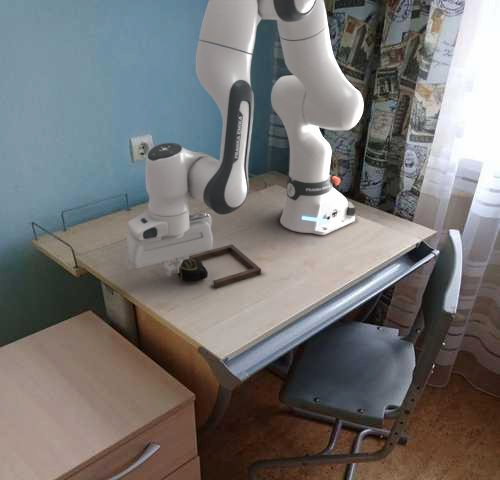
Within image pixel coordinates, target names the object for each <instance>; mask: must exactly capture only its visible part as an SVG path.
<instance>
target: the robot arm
mask: <svg viewBox="0 0 500 480" xmlns="http://www.w3.org/2000/svg"><path fill="white" fill-rule="evenodd" d="M327 16H328V15H327V10H326V5H325V1H324V0H208V2H207V5H206V8H205V11H204V15H203V19H202V22H201V26H200V30H199V37H198V41H197V45H196V53H195V75H196V77H197V79H198V82H199V83H200V85H201V86H202V88H203V89H204V90H205V91H206V93H207V94H208V95H209V96H210V97H211V98H212V99H213V101H214V102H215V104H216V106H217V107H218V110H219V112H220V115H221V120H222V129H221V140H220V150H219V159H217V158H215V157H213V156H212V155H209V154H207V153H204V152H201V151H193V150H189V149H187V148H185V147H183V146H182V145H180V144H179V143H176V142H163V143H159V144H157V145H155V146H153V147H151V149H149V151H148V152H147V155H146V158H145V165H144V168H145V169H144V171H145V172H144V175H145V176H144V177H145V190H146V193H147V196H148V204H147V210H146V211H144V212H143V213H141V214H139V215H138V216H136V217H134V218H132V219H130V220H129V221H128V222H127V227H128V230H129V234H128V235H127V237H126V259H127V262H128V263H129V265H130V266H131V267H132V268H133V269H136V270H138V269H142V268H145V267H149V266H154V265H158V264H161V263H162V265H163V266H164V267H165V273H166V275H167V276H168V277H171V276H174V275H177V274H178V273H179V267H180V266H181V264H182V262H183V260H184V258H185V257H189V256H191V255H194V254H198V253H202V252H205V251H209V250H212V248H213V246H214V239H213V233H212V229H211V227H212V216H211V215H210V214H209V213H206V212H199V213H196V214H190V205H189V204H190V202H191V200H197V201H199V202H200V203H203V204H204V205H206V206H207V208H209V209H210V210H212V211H213V212H214V213H216V214H218V215H223V216H224V215H228V214H231V213H233V212H236V211H237V210H239V209H240V208H241V207H242V206H243V205H244V204H245V202H246V200H247V197H248V195H249V191H250V190H249V189H250V184H249V183H250V179H249V160H250V150H251V141H252V132H253V125H254V124H253V122H254V113H255V112H254V111H255V95H254V91H253V89H252V84H251V67H252V66H251V65H252V59H253V54H254V49H255V44H256V36H257V28H258V25H259V23H260V22H261V21H262V20H271V21H276V24H277V25H276V26H277V30H278V36H279V41H280V46H281V50H282V55H283V60H284V64H285V66H286V68H287V69H288V71H289V72H290V75H282V76H281V77H279V78H278V79H277V80H276V81H275V83H274V85H273V86H272V89H271V93H270V104H271V107H272V110H273V111H274V112H275V113H276V115H277V116H278V117H279V119H280V120H281V122H282V124H283V127H284V129H285V132H286V136H287V140H288V145H289V166H288V167H289V168H288V169H289V170H288V173H287V176H286V184H285V185H286V197H285V203H284V206H283V210H282V213H281V216H280V218H279V222H280V224H281V225H282V226H283V227H284V228H286V229H288V230H290V231H292V232H297V233H303V234H314V235H318V236H325V235H328V234H330V233H332V232H334V231H336V230H338V229H341V228H343V227H345V226H347V225H350V224H351V223H354V222H356V216H355V214H356V211H357V209H356V207H355V206H354V204H353V203H352V202H351V201H350V200H347V198H346V197H345V196H344V195H343V194H342V193H341V192H340V191H338V190H337V189H336V188H334V186H333V184H334V185H335V186H339V184H340V183H341V178H340V177H338V176H336V175H333V176H332V174H330V169H331V160H332V147H331V145H330V142H328V141H327V139H325V138H324V137H323V134H322V133H321V131H320V128H321V129H325V130H329V131H350V130H352V129H353V128H354V127H355V126H356V125H357V124H358V123H359V121H360V120H361V117H362V115H363V112H364V98H363V96H362V94H361V92H360V91H359V90H358V89H357V88H355V87H354V86H353V85H352V84H351V83H350V82H349V80H348V79H347V78H346V76H345V75H344V73H343V72H342V70H341V68H340V66H339V64H338V63H337V60H336V57H335V55H334V52H333V48H332V42H331V37H330V29H329V23H328V17H327ZM172 260H174V262H173V264H171V265H170V263H171V261H172Z"/></svg>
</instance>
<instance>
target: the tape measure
mask: <svg viewBox="0 0 500 480" xmlns="http://www.w3.org/2000/svg"><path fill="white" fill-rule="evenodd" d="M208 273H209V272H208V270H207V268H206V267H205V266H204V264H203V262H202V260H200V259H199V258H194V259H189V258H183V262H182V264H181V266H180V267H179V273H178V274H176V276H178V278H179V280H181V281H183V282H186V283H196V282H199V281H201V280H205V279H207V278H208V275H209V274H208Z"/></svg>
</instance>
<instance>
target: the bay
mask: <svg viewBox="0 0 500 480" xmlns="http://www.w3.org/2000/svg"><path fill="white" fill-rule="evenodd" d="M229 253H230V254H232V255H233V256H234V257H235V258H236V259H237V260H238V261H239V262H241V263H242V264H243V265H244V266H245V267H246V268H248V269H247V270H243V271H239V272H238V273H234V274H230V275H227V276H224V277H219V278H216V279H214V280H213V281H212V282H213V285H212V286H213V287H214V288H215V289H218V288H221V287H224V286H228V285H231V284H234V283H237V282H242V281H244V280H247V279H248V280H249V279H251V278H254V277H257V276H262V268H261V267H259V266H258V264H256V263H255V262H254V261H252V260H251V259H250V258H249V257H248V256H247V255H246V254H244V253H243V252H242V251H241V250H240V249H238V248H237V247H236V246H235V245H234V244H231V243H230V244H228V245H224V246H220V247H217V248H213V249H210V250H209V251H205V252H201V253H197V254H193V255H189V256H188V259H194V258H199V259H200V260H201V261H205V260H208V259H212V258H215V257H219V256H222V255H226V254H229Z"/></svg>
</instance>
